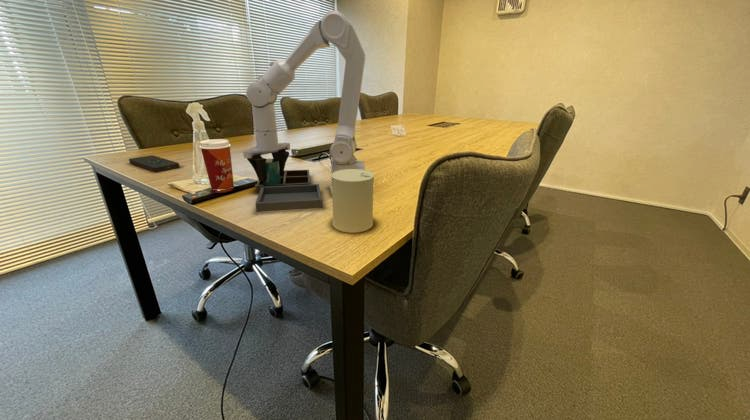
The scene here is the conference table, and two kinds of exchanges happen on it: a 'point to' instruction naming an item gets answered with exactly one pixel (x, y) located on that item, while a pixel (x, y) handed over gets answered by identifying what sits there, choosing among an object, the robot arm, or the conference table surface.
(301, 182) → the cup rack
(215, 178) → the paper cup
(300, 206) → the tray
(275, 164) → the teal cup
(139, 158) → the smart home device
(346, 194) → the can
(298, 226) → the conference table surface
